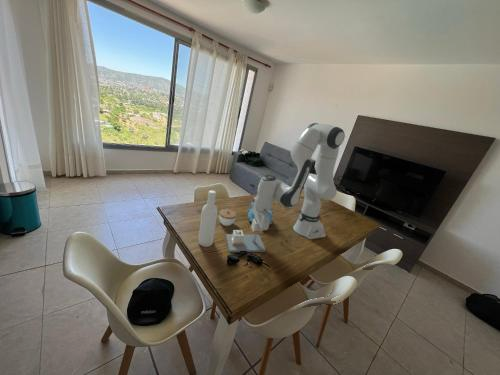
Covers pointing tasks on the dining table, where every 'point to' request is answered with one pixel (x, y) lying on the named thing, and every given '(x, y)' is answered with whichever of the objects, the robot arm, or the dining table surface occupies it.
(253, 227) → the sleeve
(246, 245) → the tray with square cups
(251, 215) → the decorative pot
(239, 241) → the seated sleeve
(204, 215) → the bottle
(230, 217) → the lidded jar
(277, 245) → the dining table surface
